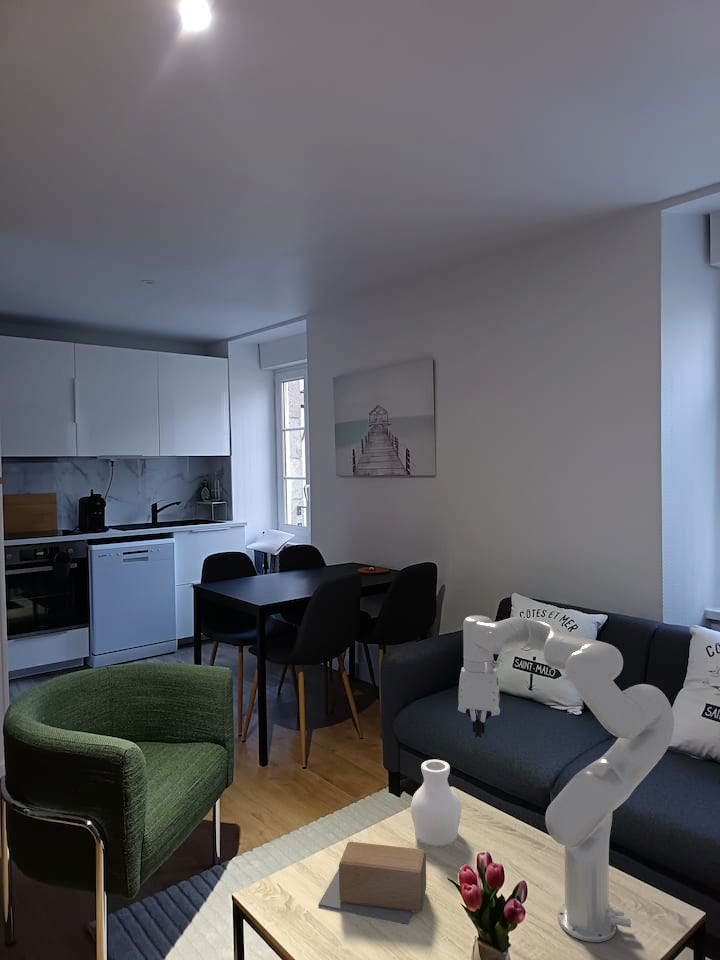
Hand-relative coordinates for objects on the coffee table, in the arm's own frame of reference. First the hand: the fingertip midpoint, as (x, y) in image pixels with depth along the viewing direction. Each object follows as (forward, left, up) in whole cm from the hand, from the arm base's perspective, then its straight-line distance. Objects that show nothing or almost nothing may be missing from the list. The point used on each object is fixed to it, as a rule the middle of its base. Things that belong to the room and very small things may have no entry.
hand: (479, 735), depth 174 cm
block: (+11, +18, -30) cm, 36 cm away
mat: (+24, +17, -35) cm, 46 cm away
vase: (+14, -12, -35) cm, 40 cm away
